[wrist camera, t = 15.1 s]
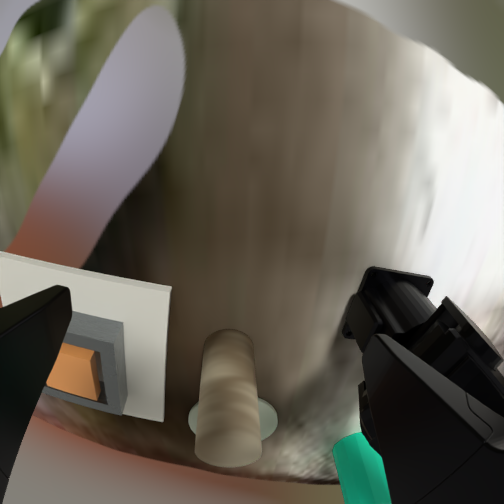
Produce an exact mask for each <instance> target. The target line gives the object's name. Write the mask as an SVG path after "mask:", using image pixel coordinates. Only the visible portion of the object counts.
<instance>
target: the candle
mask: <svg viewBox="0 0 504 504" xmlns="http://www.w3.org/2000/svg"><path fill="white" fill-rule="evenodd" d="M332 452H333V456H334V460H335V464H336V468H337V472H338V477H339V481H340V485H341V489H342V493H343V497H344V502H345V504H391V499H390V494H389V489H388V484H387V479H386V475H385V470H384V465H383V461H382V457H381V456H380V455H379V454H378V453H377V452H376V451H375V450H374V449H373V448H372V447H371V446H370V445H369V443H368V441H367V440H366V438H365V436H364V435H363V434H362V432H360V433H355V434H352V435H350V436H348V437H345V438H343V439H342V440H340V441H339V442H338V443H336V444H335V445H334V448H333V450H332Z"/></svg>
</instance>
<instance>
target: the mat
mask: <svg viewBox="0 0 504 504" xmlns="http://www.w3.org/2000/svg"><path fill="white" fill-rule="evenodd" d="M198 404H199V402H197V403H196V404H195V405H194V406H193V407H192V408H191V410H190V413H189V419H188V423H189V426H190V428H191V430H192V431H193V432H194V433H195V434H196V428H197V416H198ZM258 408H259V420H260V432H261V441H262V440H264V439H266V438H267V437H269V436H270V435H271V434H272V433H273V432H274V431H275V429H276V428H277V425H278V419H277V413H276V410H275V409H274V407H273V406H272V405H271V404H269V403H268V402H267V401H265V400H263V399H261V398H258Z"/></svg>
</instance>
